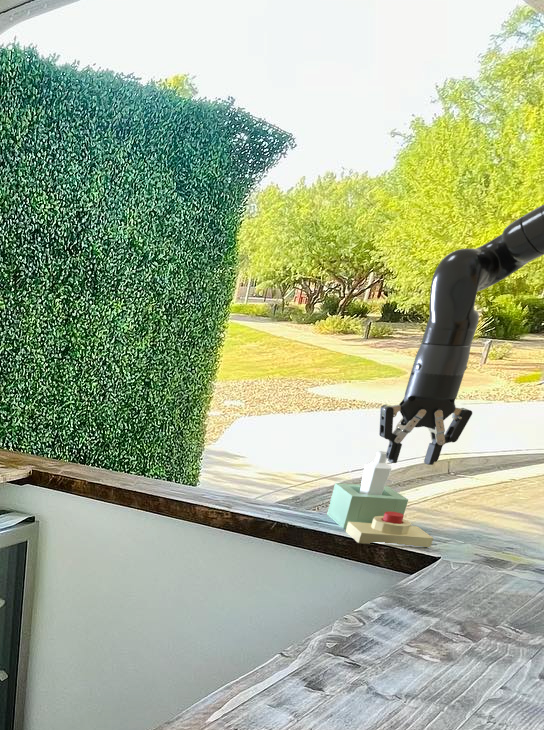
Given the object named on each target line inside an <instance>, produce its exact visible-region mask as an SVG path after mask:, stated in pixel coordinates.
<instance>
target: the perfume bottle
mask: <svg viewBox="0 0 544 730" xmlns="http://www.w3.org/2000/svg"><path fill="white" fill-rule="evenodd" d="M386 453H387V451H384V450H379V451H376V455H375V458H374V461H370V462H367V463H365V464H364V466H363V471H362V478H361V483H360V485H361V487H360V492H359V494H367V495H382V493H383V490H384V488H385V486H387V485H386V484H387V482H388V479H389V478H390V474H391V472H392V469H393V468H392V465H390V464H389V463H388V462H387V461H388V459H387V458H386Z"/></svg>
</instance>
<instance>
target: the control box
mask: <svg viewBox="0 0 544 730" xmlns="http://www.w3.org/2000/svg"><path fill="white" fill-rule="evenodd" d="M383 517H384V516H376V517H374V518H373V521H372V523H363V522H348V525H347V528H346V529H345V533H346V534H347V535H349V536H350V537H351V538H352V539H353V540H354V541H355V542H356V543H357V544H363V545H371V544H370V543H372V542H385V543H397V544H405V545H414V546H423V547H430V548H431V547H432V544H433V541H434V537H433V536H431V535H430V534H428V533H427V532H425V531H424V530H423V529H422V528H421V527H419V526H417V525H412V522H410V521H409V520H407V519H404V518H403V520H402V523H401V524H394V523H389V522H385V521H383Z"/></svg>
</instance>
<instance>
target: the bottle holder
mask: <svg viewBox="0 0 544 730" xmlns="http://www.w3.org/2000/svg"><path fill="white" fill-rule="evenodd" d="M360 487H361V483H360V484H357V483H343V482H342V483H341V482H335V483H334V486H333V491H332V493H331V497H330V502H329V505H328V509H327V513H326V515H327V516H328V517H329V518H330V519H331V520H332V521H334V522H335V523H336V524H337V525H338V526H339V527H340V528H341V529H343V530H346V528H347V525H348V522H363V523H372V521H373V518H374V517H376V516H384V514H385V512H397V513H401V514H403V515H404V516H405V512H406V508H407V505H408V503H409V499H408V498H407V497H405V496H403V495H402V494H400V493H399V492H398V491H396V490H394V489H393V488H391V487H390V486H388V485H385V488H384V490H383V493H382V495H367V494H359V492H360Z"/></svg>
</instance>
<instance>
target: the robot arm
mask: <svg viewBox="0 0 544 730" xmlns="http://www.w3.org/2000/svg"><path fill="white" fill-rule="evenodd" d="M542 256H544V204H542V205H540V206H538V207H537V208H535V209H533V210H531V211H529V212H528V213H526V214H524V215H523V216H520V217H519V218H517V219H516V220H514V221H513V222H511V223H510V224H509V225H507V226H506V227H505V228H504V230H503V231H502V234H499V235H498V236H497V237H495V238H493V239H491V240H490V241H488V242H486V243H485V244H483V245H481V246H479V247H476V248H461V249H456V250H454V251H452V252H450V253H448V254H447V255H446V256H444V257H443V258H442V259H441V261H440V262H439V263H438V265H437V266H436V269H435V270H434V273H433V275H432V279H431V284H430V291H429V292H430V294H429V305H428V306H429V309H428V310H429V315H428V316H429V318H428V320H427V323H426V326H425V328H424V333H423V336H422V340H421V343H420V346H419V348H418V350H417V352H416V354H415V358H414V361H413V364H412V367H411V372H410V374H409V379H408V381H407V386H406V389H405V393H404V397H403V399H402V400H401V401H400V402H399V404H393V405H387V404H384V405H382V406H381V407H380V410H379V411H380V413H379V414H380V415H379V433H378V434H379V436H380V437H381V438H384V439H385V440H388V446H387V449H386V452H387V453H386V458H387V461H388V462H389V463H391V464H397V463H398V460H399V456H400V453H401V449H402V447H403V443H402V442H403V441H404V440H405V438H406V436H407V435H408V434H410V433H412V431H413V430H414V428H427V429H428V431H429V433H430V439H431V442H429V443H428V447H427V450H426V452H425V457H424V459H423V463H424V464H425V465H428V466H433V465H434V464H435V463H437V462H438V460H439V459H440V455H441V452H442V449H443V446H445V444H449V443H456V442H458V440H459V438H460V436H461V435H462V433H463V431H464V429H465V427H466V426H467V424H468V422H469V420H470V419H471V417H472V415H473V411H472V410H471V409H468V408H465V407H461V408H460V407H456V403H455V401H456V399H457V397H458V394H459V391H460V389H461V384H462V381H463V378H464V374H465V373H466V370H467V369H468V363H469V359H470V352H471V347H472V344H473V341H474V338H475V334H476V331H477V328H478V325H479V320H480V314H479V311H477V310H476V309H475V306H476V305H475V304H476V300H477V298H476V297H477V294H478V292H480V291H483V290H485V289H487V288H490V287H492V286H494V285H495V284H497V283H499V282H501V281H503V280H505V279H506V278H507V277H509V276H511V275H512V274H515V272H517V271H519V270H520V269H521V268H523V267H524V266H526V265H527V264H528V263H530V262H532V261H534V260H536V259H538V258H540V257H542ZM399 412H400V414H401V416H402V418H401V419H400V420H399V422H398V423H397V424H396V426H395V429H394V430H393V428H394V426H393V425H394V418H396V417H397V414H398V413H399ZM450 416H451V418H452V421H451V422H450V424H449V426H448V428H447V429H445V428H446V427H445V422H444V421H445V420H446V419H448V418H449V417H450Z"/></svg>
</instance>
